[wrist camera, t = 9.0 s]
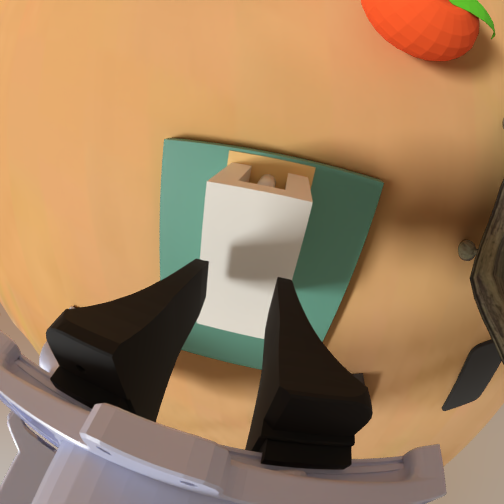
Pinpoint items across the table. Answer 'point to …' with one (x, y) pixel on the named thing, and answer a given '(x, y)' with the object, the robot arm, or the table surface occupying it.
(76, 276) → the table surface
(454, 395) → the phone
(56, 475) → the robot arm
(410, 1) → the clementine
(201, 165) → the pin board
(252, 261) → the block
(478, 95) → the table surface
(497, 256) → the tabletop clock
